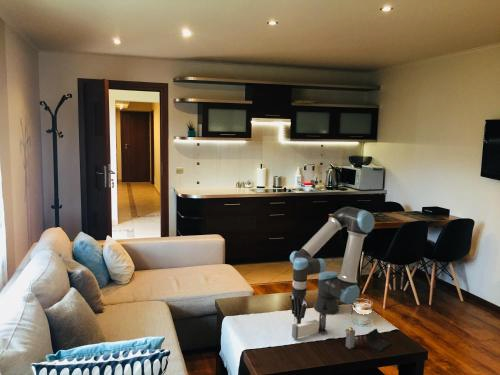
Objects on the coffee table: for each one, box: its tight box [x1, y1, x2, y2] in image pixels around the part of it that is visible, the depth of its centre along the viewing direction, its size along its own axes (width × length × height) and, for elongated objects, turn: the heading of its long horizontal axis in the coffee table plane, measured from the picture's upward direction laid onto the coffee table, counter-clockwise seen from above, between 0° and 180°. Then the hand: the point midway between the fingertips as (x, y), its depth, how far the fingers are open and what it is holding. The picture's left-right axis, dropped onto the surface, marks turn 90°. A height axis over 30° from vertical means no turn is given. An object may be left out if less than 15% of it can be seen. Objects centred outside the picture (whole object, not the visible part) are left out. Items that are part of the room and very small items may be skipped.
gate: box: [291, 319, 319, 340], centre depth 219 cm, size 3×15×7 cm, turn 120°
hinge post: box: [316, 313, 328, 336], centre depth 224 cm, size 6×6×10 cm
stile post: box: [344, 326, 356, 349], centre depth 210 cm, size 3×4×10 cm
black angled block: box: [364, 328, 392, 353], centre depth 214 cm, size 12×7×10 cm
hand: (297, 328), depth 224 cm, fingers closed
